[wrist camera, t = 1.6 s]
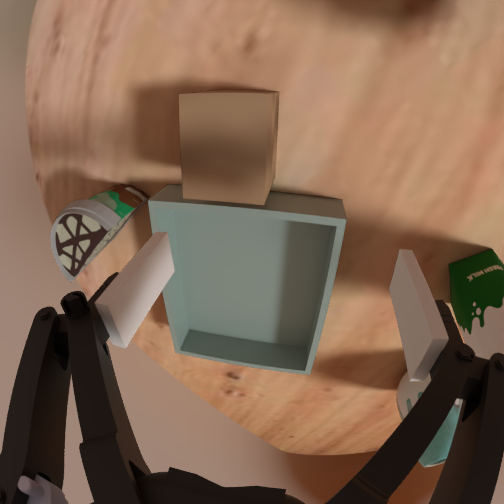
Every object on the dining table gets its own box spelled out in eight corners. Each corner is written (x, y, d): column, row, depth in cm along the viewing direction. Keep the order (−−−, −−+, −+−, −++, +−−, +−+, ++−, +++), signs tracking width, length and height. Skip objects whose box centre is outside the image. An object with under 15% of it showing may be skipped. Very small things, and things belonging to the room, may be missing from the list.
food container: (123, 154, 33) (69, 182, 24) (156, 189, 34) (110, 227, 26) (82, 213, 38) (37, 249, 30) (110, 243, 40) (69, 284, 32)
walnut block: (210, 90, 27) (178, 94, 21) (279, 91, 26) (268, 93, 20) (211, 171, 32) (183, 198, 26) (275, 176, 31) (263, 205, 25)
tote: (167, 184, 34) (147, 200, 30) (342, 199, 31) (346, 219, 27) (186, 329, 46) (175, 352, 42) (311, 348, 43) (309, 374, 39)
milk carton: (496, 240, 29) (574, 355, 12) (495, 292, 33) (548, 404, 16) (441, 260, 32) (501, 395, 15) (445, 311, 36) (484, 435, 19)
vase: (449, 382, 44) (465, 465, 29) (392, 394, 47) (398, 481, 32) (459, 343, 38) (487, 438, 23) (394, 357, 42) (406, 460, 27)
